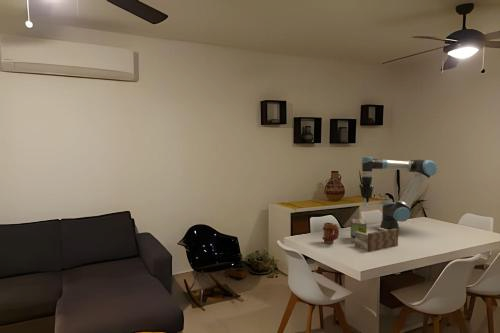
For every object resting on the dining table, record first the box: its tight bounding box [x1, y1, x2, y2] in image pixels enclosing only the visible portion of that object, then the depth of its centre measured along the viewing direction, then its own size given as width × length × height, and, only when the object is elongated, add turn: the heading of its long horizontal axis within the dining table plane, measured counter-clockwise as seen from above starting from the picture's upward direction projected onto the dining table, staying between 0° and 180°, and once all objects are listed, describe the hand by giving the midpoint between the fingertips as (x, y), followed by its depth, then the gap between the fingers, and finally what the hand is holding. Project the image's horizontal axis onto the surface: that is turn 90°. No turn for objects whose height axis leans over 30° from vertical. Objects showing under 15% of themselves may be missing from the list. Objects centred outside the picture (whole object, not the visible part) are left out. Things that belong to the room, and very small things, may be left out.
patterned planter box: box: [354, 227, 399, 253], centre depth 243 cm, size 28×14×12 cm, turn 119°
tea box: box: [350, 218, 368, 244], centre depth 257 cm, size 15×10×15 cm, turn 168°
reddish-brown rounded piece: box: [322, 222, 340, 245], centre depth 248 cm, size 15×8×15 cm, turn 23°
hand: (366, 206), depth 273 cm, fingers closed
